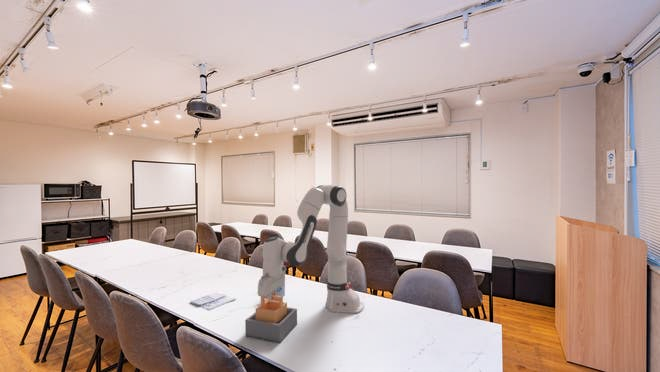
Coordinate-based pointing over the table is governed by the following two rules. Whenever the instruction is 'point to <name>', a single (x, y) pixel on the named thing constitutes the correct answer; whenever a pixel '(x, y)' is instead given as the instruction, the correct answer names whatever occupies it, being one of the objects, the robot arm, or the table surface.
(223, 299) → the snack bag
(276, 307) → the small crate
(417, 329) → the table surface
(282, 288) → the light bulb box
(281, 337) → the box
